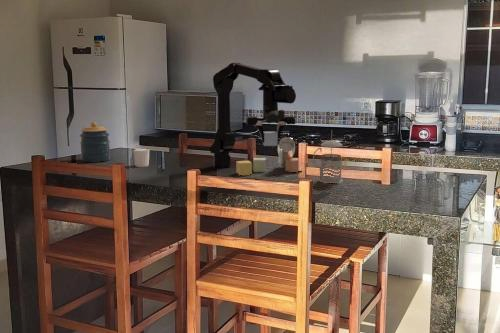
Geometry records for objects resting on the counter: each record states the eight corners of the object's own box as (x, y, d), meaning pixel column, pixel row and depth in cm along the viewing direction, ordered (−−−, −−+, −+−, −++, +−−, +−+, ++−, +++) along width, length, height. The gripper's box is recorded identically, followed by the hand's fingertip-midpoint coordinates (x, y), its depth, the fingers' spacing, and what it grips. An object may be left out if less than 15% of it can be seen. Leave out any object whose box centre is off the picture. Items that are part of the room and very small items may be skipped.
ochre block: (239, 175, 219) (239, 163, 218) (236, 173, 224) (236, 161, 223) (251, 175, 221) (251, 162, 220) (248, 172, 225) (248, 160, 225)
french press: (343, 184, 203) (345, 115, 199) (311, 183, 205) (312, 115, 201) (344, 178, 213) (346, 113, 208) (313, 177, 215) (315, 112, 210)
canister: (79, 159, 258) (76, 121, 254) (107, 157, 263) (105, 119, 260) (83, 163, 246) (81, 124, 243) (113, 161, 251) (111, 122, 248)
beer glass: (287, 171, 235) (289, 155, 221) (273, 163, 237) (274, 146, 223) (296, 159, 237) (298, 142, 224) (282, 151, 239) (283, 133, 226)
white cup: (151, 164, 244) (151, 148, 243) (147, 167, 238) (147, 150, 236) (136, 164, 245) (136, 148, 244) (131, 166, 238) (131, 150, 237)
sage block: (253, 172, 227) (253, 160, 226) (253, 169, 232) (253, 157, 231) (265, 172, 226) (265, 160, 226) (265, 169, 231) (265, 157, 230)
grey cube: (264, 146, 216) (264, 133, 215) (263, 144, 220) (263, 131, 220) (277, 145, 216) (277, 133, 215) (275, 143, 221) (275, 131, 220)
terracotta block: (291, 172, 224) (291, 160, 223) (285, 170, 229) (285, 158, 228) (302, 171, 226) (302, 159, 226) (296, 169, 231) (296, 157, 230)
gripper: (248, 104, 206) (248, 145, 209) (298, 103, 208) (297, 144, 211) (245, 102, 217) (245, 141, 220) (292, 101, 219) (292, 140, 222)
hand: (270, 142), depth 218 cm, fingers closed on grey cube, 5 cm apart
